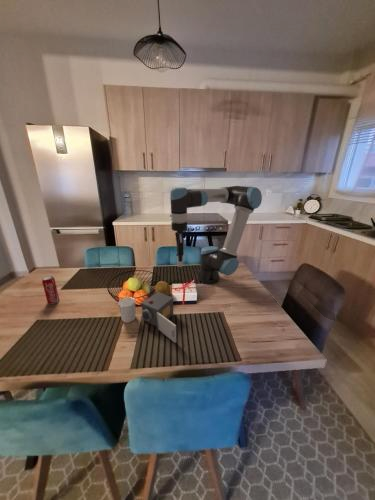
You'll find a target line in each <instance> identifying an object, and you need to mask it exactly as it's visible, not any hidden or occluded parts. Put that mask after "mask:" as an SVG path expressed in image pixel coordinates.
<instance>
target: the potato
mask: <svg viewBox="0 0 375 500" xmlns="http://www.w3.org/2000/svg"><path fill="white" fill-rule="evenodd" d="M171 289H172V288H171V287H170V285H169V284H168V282H166V281H164V280H160V281H158V282H157V283H156V284H155V285H154V294H155V293H157V292H160V293H162V294H165V295H167V296H170V294H171Z"/></svg>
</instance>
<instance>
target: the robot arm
mask: <svg viewBox="0 0 375 500" xmlns="http://www.w3.org/2000/svg"><path fill="white" fill-rule="evenodd" d="M169 195H170V196H169V199H170V212H171V213H170V214H169V217H170V218H171V225H170V226H171V230H172V231H174V232H175V233H174V235H175V241H176V256H177V259H176V260H177V261H176V262H177V268H182V267H184V242H185V239H184V238H185V233H184V231H187V230H188V222H187V221H188V209H189V208H197V207H204V206H206V205H207V204H208V203H217V202H219V203H221V204H230V205H232V206H233V205H234V207H233V208H234V210H235V212H234V214H233V216H232V220H231V222H230V226H229V228H228V231H227V234H226V237H225V240H224V242H223V243H224V244H223V245H222V247H221V248H219V247H218V246H213V245H211V246H209V245H208V246H204V247H202V248H201V250H200V266H199V267H200V269H199V271H198V274H197V280H198V281H199V282H200V281H201V282H200V283H202V282H203V283H202V284H205V283H206V284H205V285H213V284H217V283H219V281H220V274H223V275H225V276H230V275H231V276H232V275H233V274H234V273H235V272H236V271H237V270H238V268H239V266H240V265H239V259H238V253H237V251H238V248H239V245H240V242H241V239H242V237H243V234H244V232H245V231H244V230H245V228H246V225H247V223H248V221H249V220H248V219H249V217H250V215H251V214H254V211H255V209H258V208H259V207H260V206H261V204H262V201H263V194H262V191H261V190H260V189H259V188H258V187H255V186H246V185H245V186H243V185H242V186H241V185H232V186H231V185H230V186H222V187H220V188H187V187H173V188H171V189H170V194H169ZM219 273H220V274H219Z"/></svg>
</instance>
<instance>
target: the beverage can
mask: <svg viewBox="0 0 375 500" xmlns="http://www.w3.org/2000/svg"><path fill="white" fill-rule="evenodd" d="M41 283H42V286H43V290H44V293H45V298H46V299H45V300H46V303H47V304H49V305H53V304H57V303H58V302H59V301H60V296H59V292H58V287H57V284H56V279H55V277H54V276H52V275H47V276H45V277H43V278H42V279H41Z"/></svg>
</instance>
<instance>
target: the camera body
mask: <svg viewBox="0 0 375 500" xmlns="http://www.w3.org/2000/svg"><path fill="white" fill-rule="evenodd" d="M157 312H159V313H160V314H161V315H163V316H164V317H165V318H167V319H168V320H169V319H170V317H172V316H173V315H174V298H173V296H170V295H168V296H167V295H165V294H162V293H160V292H157V293H155V292H154V294H153V295H150V296H149V297H148V298H146V299H145V300H144V301H143V302H141V316H142V320H143V321H144V322H147V323H148V324H150V325H152V326H155V327H156V328H158V327H157Z"/></svg>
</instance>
